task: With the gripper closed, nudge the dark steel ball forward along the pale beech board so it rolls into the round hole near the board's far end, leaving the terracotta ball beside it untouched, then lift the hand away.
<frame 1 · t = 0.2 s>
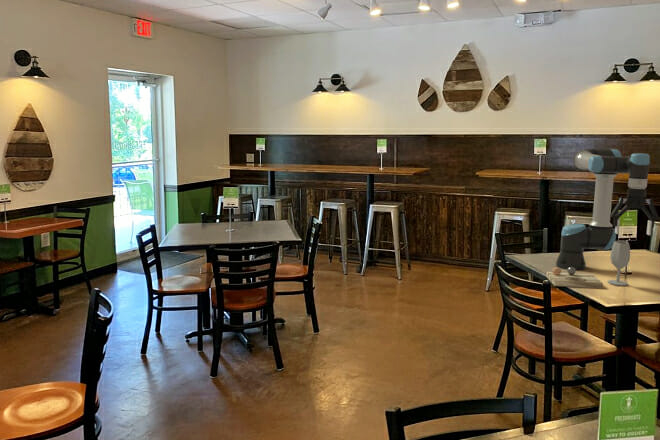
hand: (632, 234, 265), 28 cm above the table, fingers open, 13 cm apart
wineglass: (617, 284, 285), on the table
terracotta ball: (556, 271, 290), point 4 cm above the table, touching board
steel ball: (571, 270, 291), point 4 cm above the table, touching board
board: (573, 282, 287), on the table
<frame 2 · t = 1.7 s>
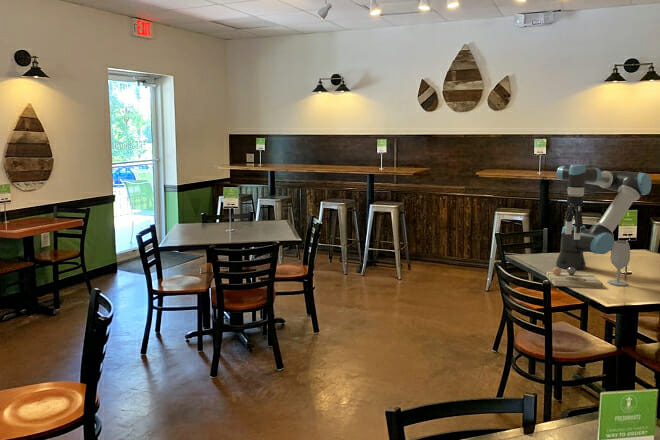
hand: (572, 236, 295), 21 cm above the table, fingers open, 13 cm apart
nothing on the table moved.
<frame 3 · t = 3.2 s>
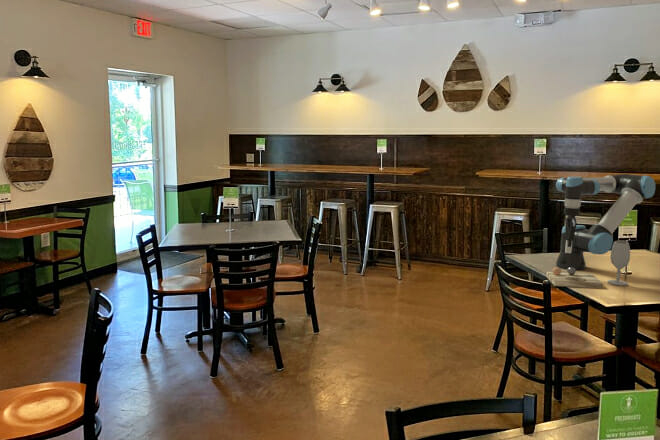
hand: (568, 252, 297), 12 cm above the table, fingers closed
nothing on the table moved.
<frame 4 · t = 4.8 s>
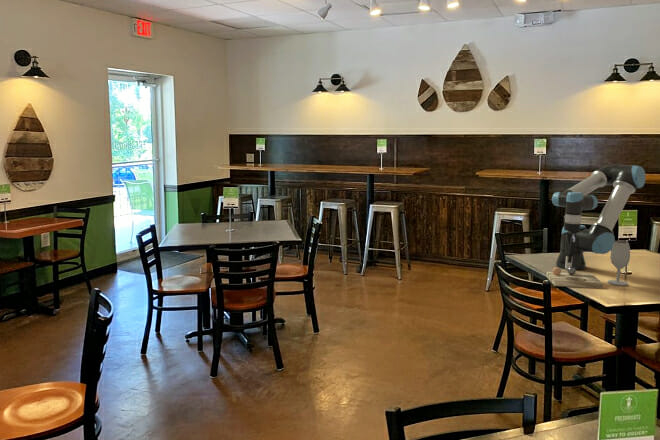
hand: (568, 268, 295), 5 cm above the table, fingers closed
nothing on the table moved.
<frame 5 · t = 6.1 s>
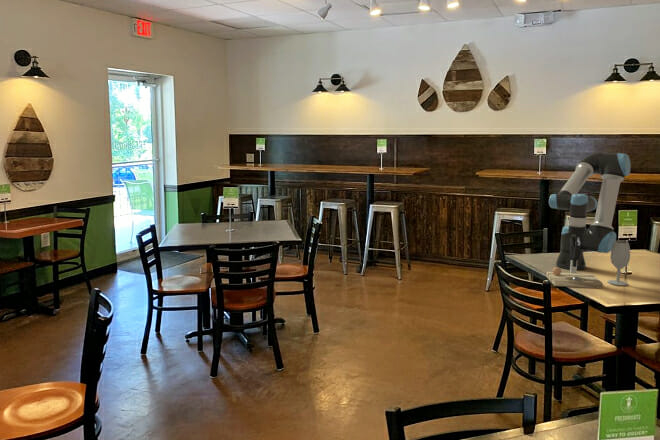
hand: (573, 272, 287), 5 cm above the table, fingers closed
steel ball: (575, 280, 282), point 2 cm above the table, tilted 57°
everything else where it was.
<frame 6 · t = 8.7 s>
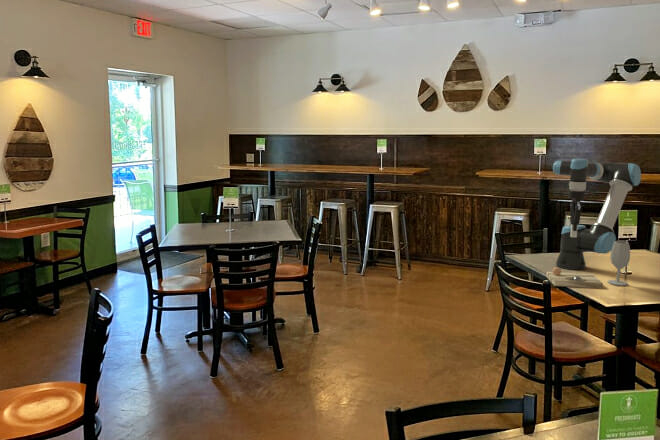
hand: (573, 236, 290), 21 cm above the table, fingers closed
steel ball: (577, 280, 282), point 2 cm above the table, tilted 64°
everything else where it was.
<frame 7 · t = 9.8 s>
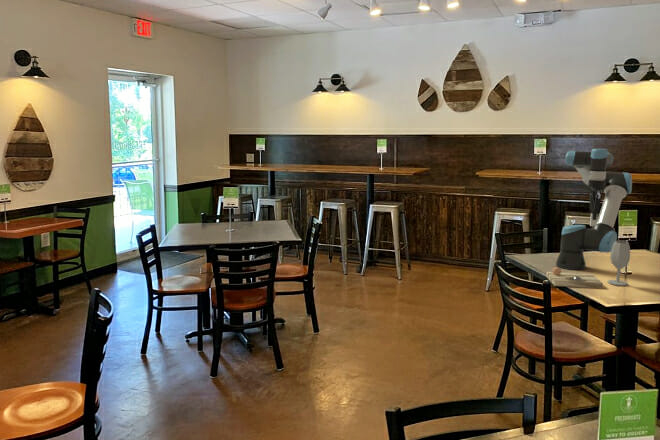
hand: (592, 225, 295), 26 cm above the table, fingers closed
nothing on the table moved.
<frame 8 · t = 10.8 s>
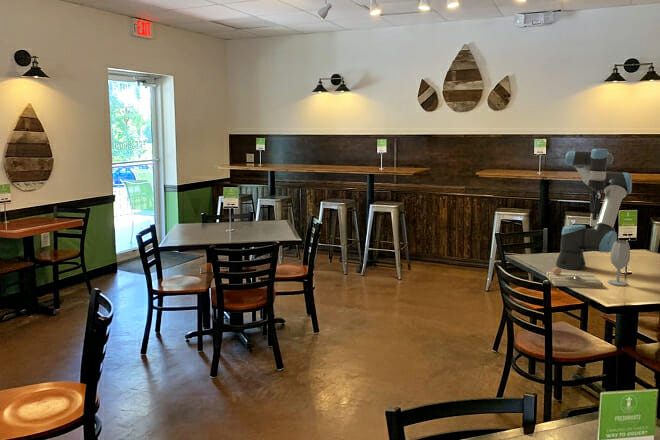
hand: (593, 225, 295), 26 cm above the table, fingers closed
nothing on the table moved.
at the end: steel ball 0.5 cm from the target spot on the board, point 2.0 cm above the board's base; terracotta ball moved 0.0 cm from its start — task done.
